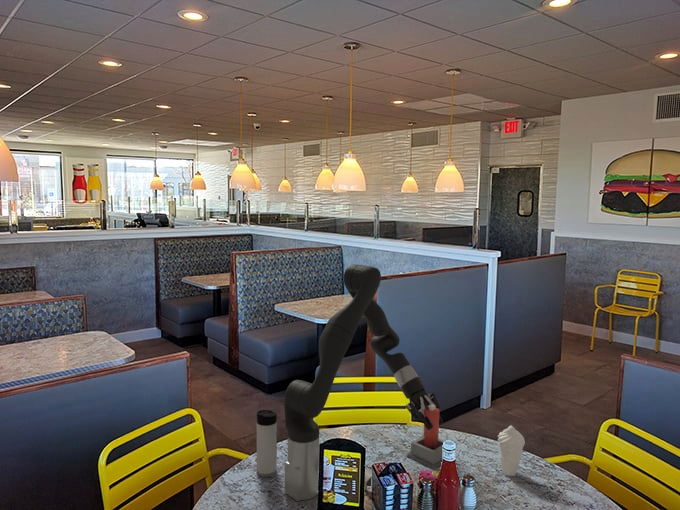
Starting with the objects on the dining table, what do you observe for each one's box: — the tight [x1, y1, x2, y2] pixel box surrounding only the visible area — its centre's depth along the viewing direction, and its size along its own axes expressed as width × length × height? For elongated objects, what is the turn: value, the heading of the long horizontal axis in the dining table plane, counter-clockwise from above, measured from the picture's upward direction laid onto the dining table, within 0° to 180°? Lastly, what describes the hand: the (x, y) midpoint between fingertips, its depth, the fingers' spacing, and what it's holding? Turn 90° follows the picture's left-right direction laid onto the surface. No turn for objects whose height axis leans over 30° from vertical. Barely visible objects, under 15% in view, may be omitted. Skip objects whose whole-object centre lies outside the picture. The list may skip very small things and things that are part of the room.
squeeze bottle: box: [422, 404, 440, 447], centre depth 168 cm, size 5×5×14 cm
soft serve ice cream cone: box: [497, 425, 526, 477], centre depth 159 cm, size 8×8×16 cm
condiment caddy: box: [406, 436, 445, 470], centre depth 169 cm, size 11×11×5 cm
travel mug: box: [256, 409, 278, 478], centre depth 157 cm, size 6×7×20 cm
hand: (435, 426), depth 166 cm, fingers closed on squeeze bottle, 5 cm apart
